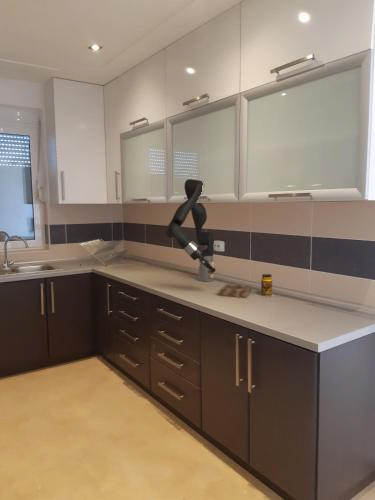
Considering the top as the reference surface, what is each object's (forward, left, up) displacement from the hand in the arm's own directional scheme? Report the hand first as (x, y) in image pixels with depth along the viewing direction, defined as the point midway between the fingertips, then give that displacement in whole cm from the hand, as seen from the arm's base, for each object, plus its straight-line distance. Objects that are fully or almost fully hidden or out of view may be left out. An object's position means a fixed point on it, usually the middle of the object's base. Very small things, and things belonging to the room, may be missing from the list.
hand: (214, 270), depth 228 cm
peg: (-2, -1, -5) cm, 5 cm away
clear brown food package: (+13, +1, -13) cm, 19 cm away
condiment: (+29, +5, -14) cm, 33 cm away
